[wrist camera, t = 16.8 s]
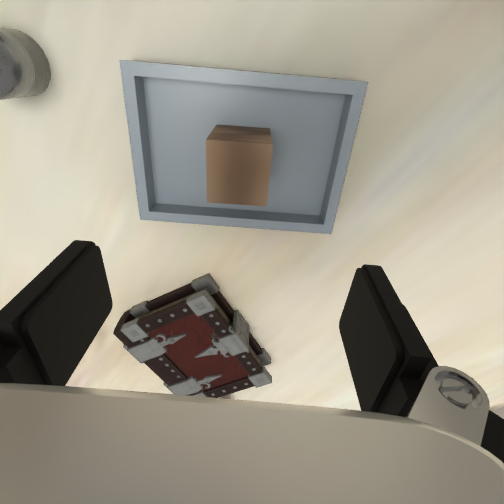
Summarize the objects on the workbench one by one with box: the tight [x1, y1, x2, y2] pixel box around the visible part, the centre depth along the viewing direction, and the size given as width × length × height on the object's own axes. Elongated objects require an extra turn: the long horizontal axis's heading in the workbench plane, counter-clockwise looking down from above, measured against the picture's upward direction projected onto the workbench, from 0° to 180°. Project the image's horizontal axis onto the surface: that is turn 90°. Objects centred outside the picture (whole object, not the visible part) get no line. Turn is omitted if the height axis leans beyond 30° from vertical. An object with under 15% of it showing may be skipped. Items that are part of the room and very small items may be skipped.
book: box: [113, 273, 272, 398], centre depth 44 cm, size 15×25×5 cm, turn 28°
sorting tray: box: [120, 60, 368, 234], centre depth 29 cm, size 20×14×3 cm
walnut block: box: [206, 124, 273, 206], centre depth 27 cm, size 5×5×7 cm
